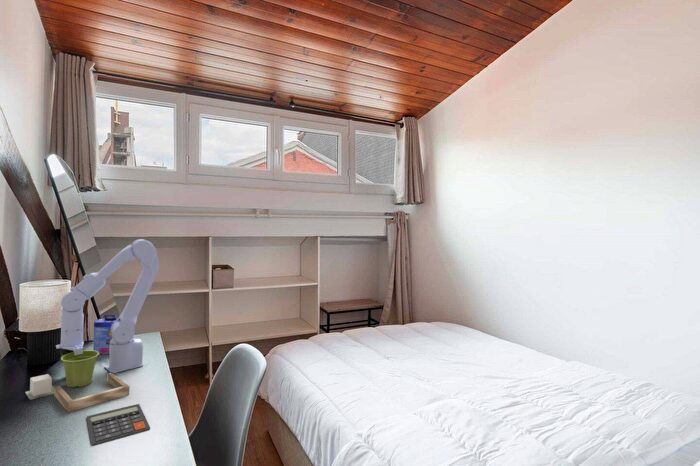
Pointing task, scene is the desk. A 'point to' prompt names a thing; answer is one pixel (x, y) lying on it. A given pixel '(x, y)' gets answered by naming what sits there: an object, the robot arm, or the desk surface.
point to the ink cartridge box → (103, 334)
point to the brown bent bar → (83, 402)
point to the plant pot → (79, 367)
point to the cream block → (40, 384)
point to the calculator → (116, 424)
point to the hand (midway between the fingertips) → (71, 371)
